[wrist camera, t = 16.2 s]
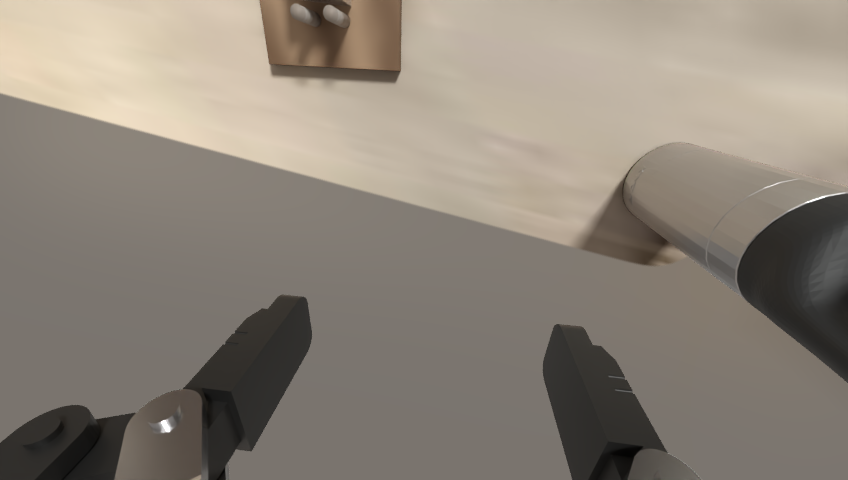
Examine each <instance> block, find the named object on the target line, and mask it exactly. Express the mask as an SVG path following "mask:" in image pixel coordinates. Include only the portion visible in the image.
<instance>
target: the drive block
mask: <svg viewBox="0 0 848 480" xmlns="http://www.w3.org/2000/svg"><path fill="white" fill-rule="evenodd" d="M303 1H311V2H319V3H327V4H335V5H343V6H351V0H303Z"/></svg>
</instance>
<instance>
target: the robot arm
mask: <svg viewBox="0 0 848 480" xmlns="http://www.w3.org/2000/svg"><path fill="white" fill-rule="evenodd" d="M623 198H624V202H625V205H626V206H627V208H628V210H629V211H630V212H631V213H632V214H633V215H635V216H636V217H637V218H638V219H640V220H641V221H642V222H644V223H645V224H646V225H648V226H649V227H650V228H651V229H653V230H654V231H655V232H657V233H658V234H659V235H660V236H662V237H663V238H664V239H666V240H667V241H668V242H670V243H671V244H672V245H674V246H675V247H676V248H678V249H679V250H680V251H682V252H683V253H684V254H685V255H687V256H688V257H689V258H691V259H692V260H693V261H695V262H696V263H697V264H699V265H700V266H701V267H703V268H704V269H705V270H706V271H708V272H709V273H711V274H712V275H713V276H714V277H716V278H717V279H718V280H720V281H721V282H722V283H724V284H725V285H727V286H728V287H729V288H730V289H732V290H733V291H734V292H736V293H737V294H738V295H740V296H741V297H742V298H743V299H745V300H746V301H748V302H749V303H750V304H751V305H752V306H754V307H755V308H756V309H758V310H759V311H760V312H762V313H763V314H764V315H766V316H767V317H768V318H769V319H770V320H771V321H772V322H774V323H775V324H776V325H777V326H778V327H780V328H781V329H782V330H783V331H785V332H786V333H787V334H789V335H790V336H791V337H793V338H794V339H795V340H796V341H797V342H799V343H800V344H801V345H802V346H804V347H805V348H806V349H808V350H809V351H810V352H811V353H813V354H814V355H815V356H816V357H818V358H819V359H820V360H821V361H822V362H823V363H825V364H826V365H827V366H829V367H830V368H831V369H832V370H833V371H834V372H836V373H837V374H838V375H839V376H840V377H842V378H843V379H844V380H845V381H846V382H847V383H848V186H845V185H841V184H838V183H834V182H830V181H825V180H822V179H818V178H814V177H811V176H807V175H803V174H800V173H796V172H792V171H788V170H785V169H781V168H777V167H774V166H770V165H766V164H763V163H759V162H755V161H751V160H748V159H744V158H740V157H737V156H733V155H729V154H725V153H722V152H719V151H715V150H711V149H707V148H704V147H700V146H696V145H692V144H689V143H673V144H668V145H664V146H661V147H659V148H657V149H655V150H653V151H651V152H649V153H648V154H646V155H645V156H643V157H642V158H641V159H640V160H639V161H638V162H637V163H636V164H635V165H634V166H633V168H632V169H631V170H630V172H629V173H628V176H627V178H626V180H625V183H624V187H623ZM311 339H312V330H311V323H310V316H309V310H308V303H307V299H306V298H305V297H300V296H291V295H280V296H279V297H278V298H277V299H276V300H275V301H274V302H273V304H272V305H271V306H270V307H269V308H268V309H261V310H259V311H258V312H256V313H254V314H253V315H251V316H250V317H248V318H247V319H246V320H245V321H244V322H243V323H242V324H241V325H240V326H239V328H237V330H236V331H235V334H232V335H231V336H230V337H229V338H228V340H227V341H226V344H225V345H222V346H221V347H220V349H219V350H218V351H217V352H216V353H215V354H214V355H213V356H212V357H211V358H210V360H209V361H208V362H207V363H206V364H205V365H204V366H203V367H202V368H201V370H200V371H199V372H198V373H197V374H196V375H195V376H194V377H193V378H192V380H191V381H190V382H189V383H188V384H187V385H186V386H185V387H184V388H183V389H179V390H174V391H171V392H167V393H165V394H162V395H160V396H158V397H156V398H155V399H153V400H151V401H149V402H148V403H147V404H145V405H144V406H143V407H142V408H141V409H139V410H138V411H137V412H136V413H131V414H125V415H119V416H113V417H108V418H102V419H95V418H94V417H93V415H92V414H91V412H90V411H89V409H87V408H86V407H84V406H80V405H70V406H64V407H60V408H57V409H54V410H51V411H49V412H46V413H44V414H42V415H40V416H38V417H36V418H34V419H32V420H31V421H29V422H27V423H26V424H24V425H23V426H21V427H20V428H18V429H17V430H16V431H14V432H13V433H12V434H10V435H9V436H8V437H7V438H6V439H5V440H3V441H2V442H1V443H0V480H230V476H229V465H228V461H229V459H230V458H231V456H232V455H233V453H234V451H235V450H236V449H238V450H245V451H252V450H253V448H254V446H255V444H256V442H257V441H258V439H259V437H260V435H261V434H262V432H263V430H264V428H265V426H266V425H267V423H268V421H269V419H270V418H271V416H272V414H273V412H274V411H275V409H276V407H277V405H278V403H279V401H280V400H281V398H282V396H283V395H284V393H285V391H286V389H287V387H288V386H289V384H290V382H291V380H292V379H293V377H294V375H295V373H296V371H297V370H298V368H299V366H300V364H301V362H302V361H303V359H304V357H305V355H306V353H307V352H308V350H309V347H310V344H311ZM543 376H544V381H545V385H546V388H547V391H548V395H549V399H550V402H551V406H552V409H553V413H554V416H555V420H556V423H557V427H558V430H559V434H560V438H561V441H562V445H563V448H564V452H565V455H566V459H567V462H568V466H569V469H570V473H571V476H572V480H702V479H701V478H700V477H699V476H698V475H697V474H696V473H695V472H694V471H693V470H692V469H691V468H690V467H689V466H687V465H686V464H685V463H683V462H682V461H681V460H679V459H678V458H676V457H674V456H672V455H671V454H668V452H667V451H666V449H665V448H664V446H663V444H662V442H661V440H660V439H659V437H658V435H657V433H656V432H655V430H654V428H653V426H652V425H651V423H650V421H649V419H648V417H647V416H646V414H645V412H644V410H643V408H642V407H641V405H640V403H639V401H638V399H637V398H636V396H635V394H633V393H632V389H631V387H630V385H629V383H628V382H627V380H625V377H624V374H623V373H622V371H621V369H620V367H619V365H618V364H617V362H616V361H615V359H614V358H613V357H612V356H610V355H609V354H608V353H607V352H606V351H605V350H604V349H603V348H602V347H601V346H595V345H592V343H591V341H590V339H589V337H588V335H587V333H586V331H585V329H584V328H583V327H580V326H570V325H560V324H557V325H555V326H554V328H553V331H552V334H551V337H550V341H549V344H548V347H547V350H546V354H545V357H544V361H543Z"/></svg>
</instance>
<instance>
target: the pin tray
mask: <svg viewBox="0 0 848 480" xmlns="http://www.w3.org/2000/svg"><path fill="white" fill-rule="evenodd" d="M260 5H261V11H262V18H263V25H264V31H265V38H266V44H267V51H268V58H269V64H278V65H297V66H316V67H334V68H353V69H372V70H391V71H401V8H402V0H351V6H343V5H335V4H327V3H319V2H311V1H303V0H260Z"/></svg>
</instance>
